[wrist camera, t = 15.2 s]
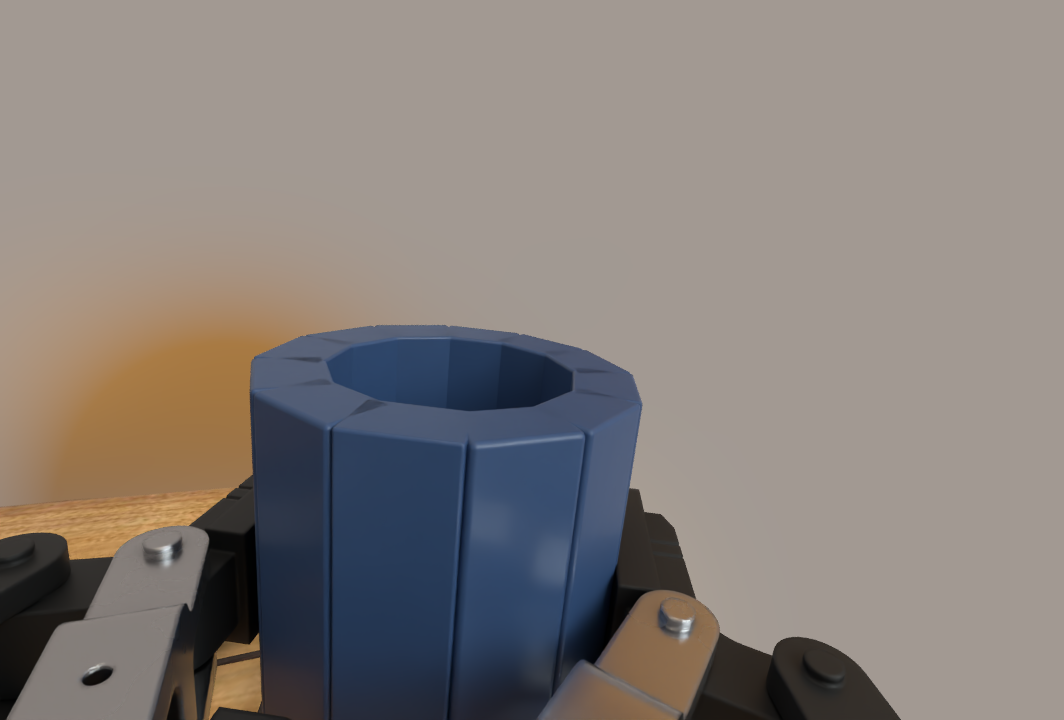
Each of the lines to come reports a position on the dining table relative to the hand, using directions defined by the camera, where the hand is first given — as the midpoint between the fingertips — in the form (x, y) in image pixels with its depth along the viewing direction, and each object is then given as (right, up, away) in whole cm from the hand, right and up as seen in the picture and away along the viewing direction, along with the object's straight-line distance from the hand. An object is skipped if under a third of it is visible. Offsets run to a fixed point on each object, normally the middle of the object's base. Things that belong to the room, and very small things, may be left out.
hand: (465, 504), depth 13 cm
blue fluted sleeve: (-1, -6, -1) cm, 6 cm away
